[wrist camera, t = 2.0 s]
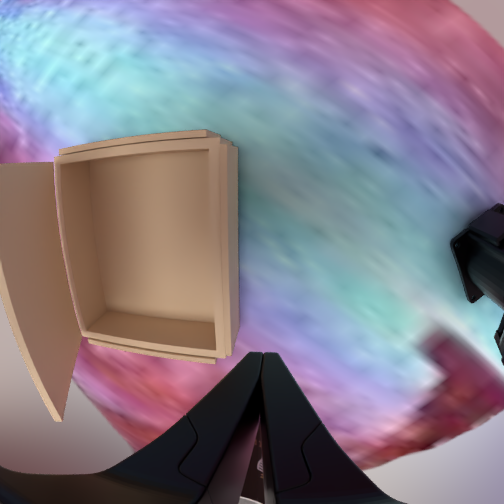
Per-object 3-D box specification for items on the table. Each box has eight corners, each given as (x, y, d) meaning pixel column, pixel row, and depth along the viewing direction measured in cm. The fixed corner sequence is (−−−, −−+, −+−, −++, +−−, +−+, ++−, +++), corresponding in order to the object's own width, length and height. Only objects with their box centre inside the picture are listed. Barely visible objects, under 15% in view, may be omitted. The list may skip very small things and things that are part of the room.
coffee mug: (194, 400, 26) (164, 481, 17) (282, 410, 25) (277, 497, 16) (203, 459, 30) (185, 522, 20) (272, 467, 29) (266, 534, 19)
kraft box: (239, 135, 19) (227, 128, 15) (240, 333, 23) (231, 365, 19) (86, 149, 20) (52, 150, 16) (106, 318, 24) (82, 341, 20)
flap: (53, 162, 16) (-11, 164, 8) (82, 337, 20) (62, 421, 11) (45, 163, 15) (-21, 167, 7) (75, 337, 19) (53, 421, 11)
